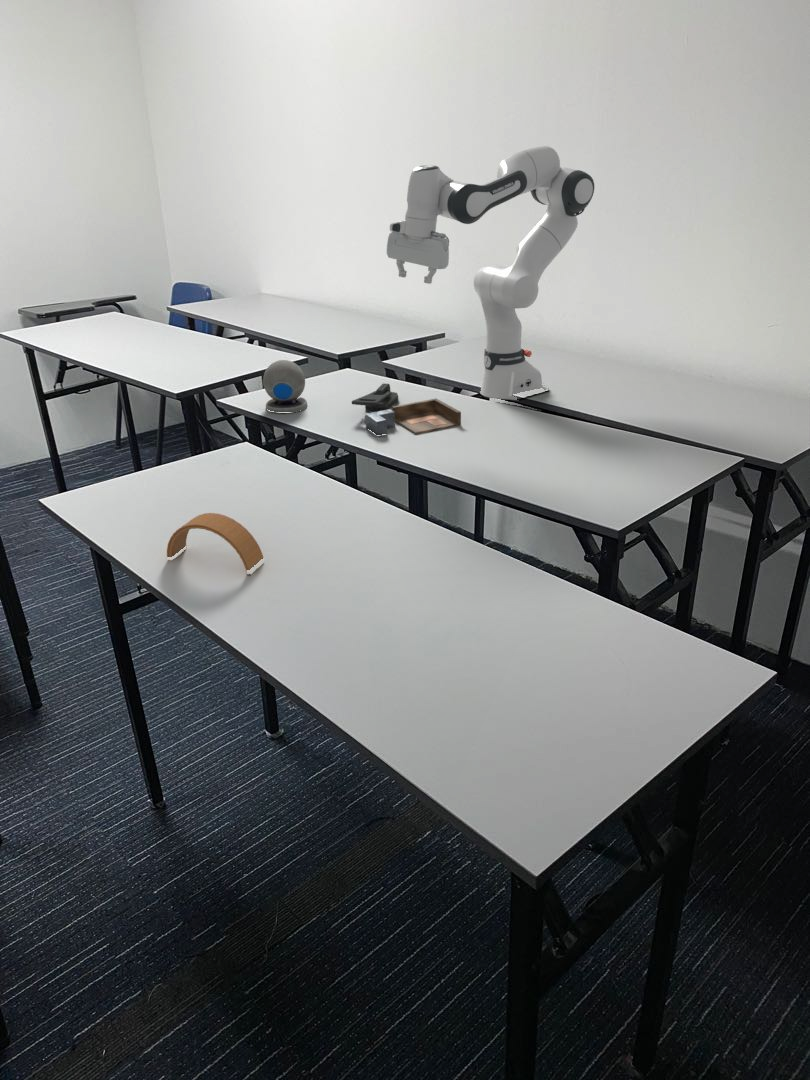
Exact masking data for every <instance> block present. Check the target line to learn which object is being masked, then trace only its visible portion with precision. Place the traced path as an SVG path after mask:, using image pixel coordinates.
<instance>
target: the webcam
mask: <svg viewBox="0 0 810 1080" xmlns="http://www.w3.org/2000/svg"><path fill="white" fill-rule="evenodd" d="M305 377H306V376H305V374H304V372H303V369H302V368H301V367H300V366H299V365H298V363H295V362H294V361H291V360H288V359H280V360H276V361H274V362H272V363H271V364H270V365H269V366H267V367H266V369H265V371H264V374H263V378H262V384H263V388H264V390H265V392H266V394H267V395H268V396H269V397H270V398H271V399H269V400H268V401H267V402H266V404H265V409H268V410H270V411H274V412H296V411H300V410H302V411H304V410H306V409H307V408H308V401H307V399H305V398H304V397H301V395H302V394H303V392H304V390H305V386H306V379H305ZM306 407H307V408H306ZM305 408H306V409H305ZM303 409H304V410H303ZM300 412H301V411H300ZM296 413H297V412H296Z"/></svg>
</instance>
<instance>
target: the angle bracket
mask: <svg viewBox="0 0 810 1080" xmlns="http://www.w3.org/2000/svg"><path fill="white" fill-rule="evenodd" d="M364 415H365V429H366V428H367V429H369V430H371V431H372V432H374V433H375V434H376V435H382V434H387V435H388V429H390V428H389V427H391V428H395V427H396V422H395V412H394V411H392V408H390V409H389V410H383V411H378V412H367V413H365V414H364ZM367 429H366V430H367ZM369 430H368V431H369ZM376 435H375V436H376Z"/></svg>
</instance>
